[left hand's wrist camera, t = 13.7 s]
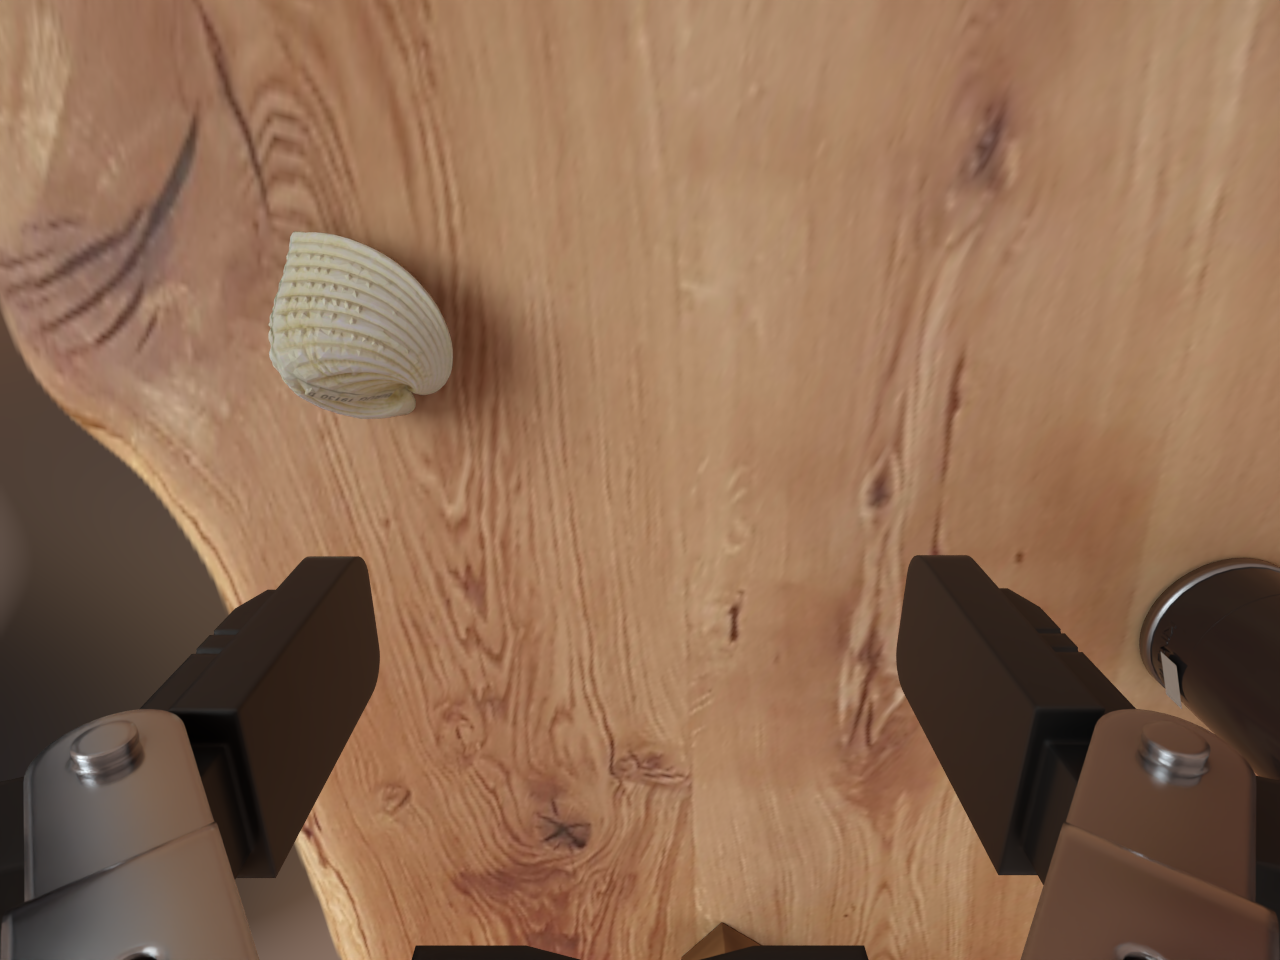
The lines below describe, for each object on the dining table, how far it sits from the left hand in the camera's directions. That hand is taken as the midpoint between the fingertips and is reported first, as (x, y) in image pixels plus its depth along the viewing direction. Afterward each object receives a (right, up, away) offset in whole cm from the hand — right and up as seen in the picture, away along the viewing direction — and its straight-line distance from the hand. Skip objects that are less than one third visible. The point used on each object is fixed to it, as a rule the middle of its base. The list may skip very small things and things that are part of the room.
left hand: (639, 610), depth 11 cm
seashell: (-13, +10, +28) cm, 32 cm away
